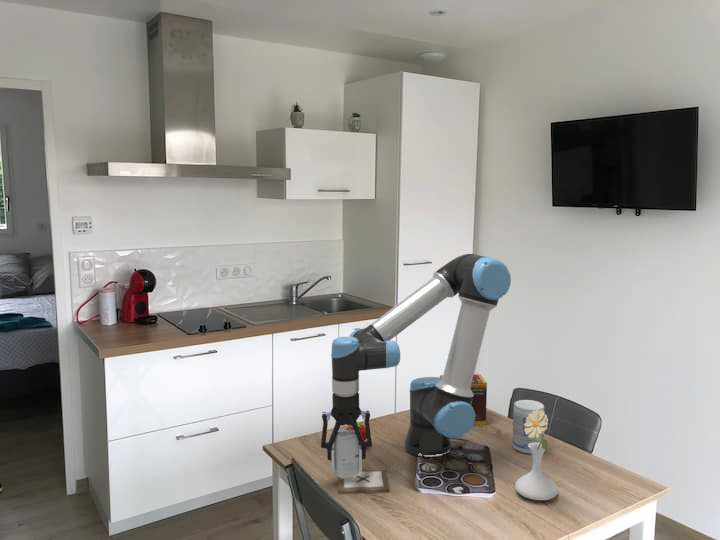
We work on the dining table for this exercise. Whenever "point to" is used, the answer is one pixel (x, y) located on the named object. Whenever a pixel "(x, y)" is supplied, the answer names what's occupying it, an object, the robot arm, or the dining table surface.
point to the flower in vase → (536, 461)
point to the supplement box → (478, 398)
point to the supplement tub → (519, 419)
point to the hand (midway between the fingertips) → (346, 469)
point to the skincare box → (346, 454)
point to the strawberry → (362, 430)
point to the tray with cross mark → (365, 482)
